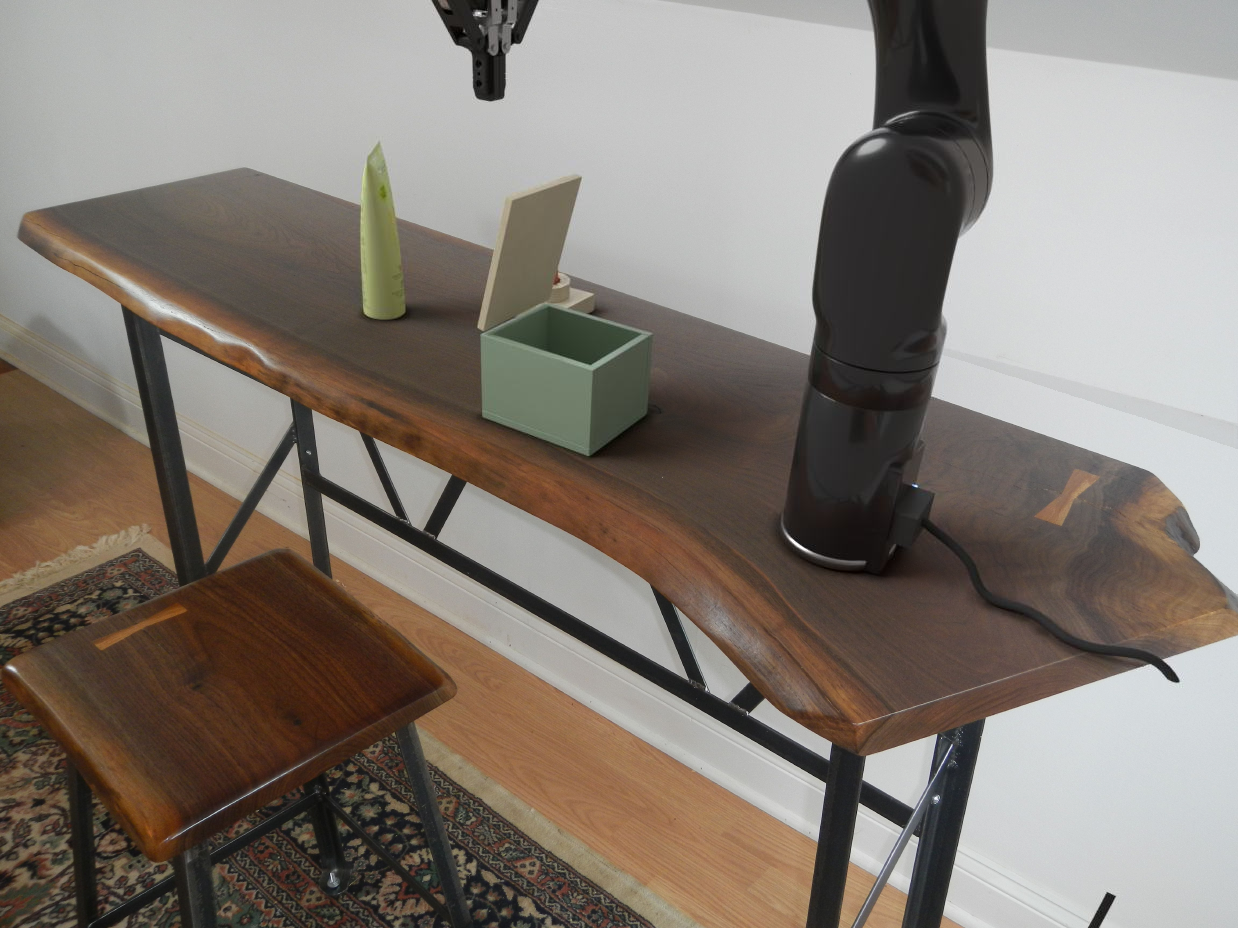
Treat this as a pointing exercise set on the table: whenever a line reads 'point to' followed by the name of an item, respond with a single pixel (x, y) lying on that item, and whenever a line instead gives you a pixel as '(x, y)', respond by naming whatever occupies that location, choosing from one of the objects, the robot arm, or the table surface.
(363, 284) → the tube
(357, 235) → the table surface
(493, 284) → the lid
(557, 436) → the chest
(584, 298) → the button box
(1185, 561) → the table surface
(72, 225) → the table surface
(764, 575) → the table surface
